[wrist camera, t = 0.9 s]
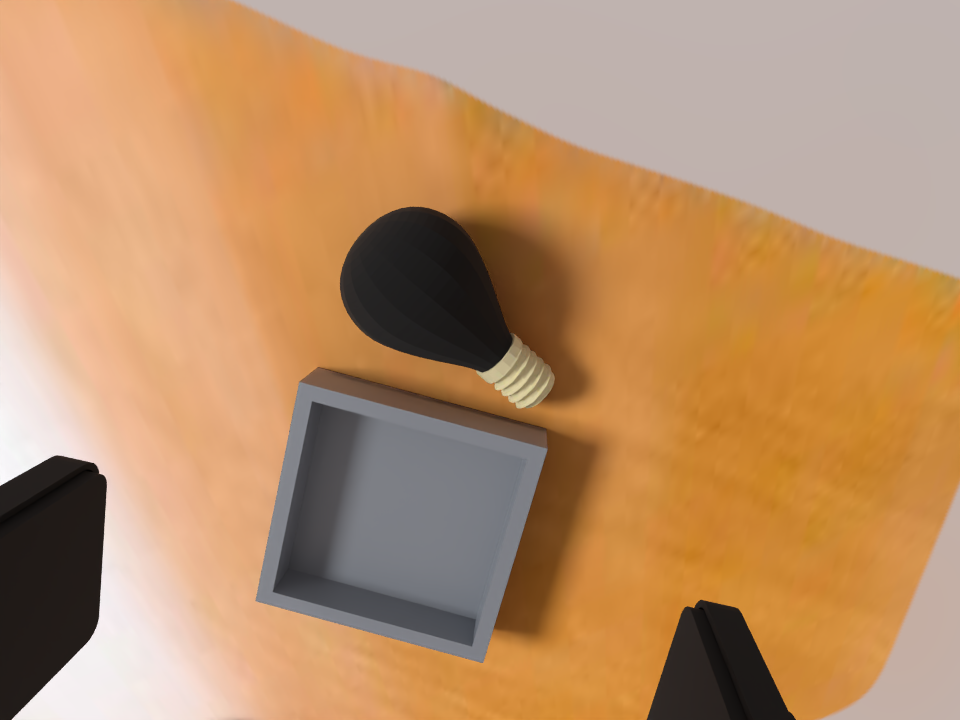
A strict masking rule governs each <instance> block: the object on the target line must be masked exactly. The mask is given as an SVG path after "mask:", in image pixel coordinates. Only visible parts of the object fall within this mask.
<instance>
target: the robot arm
mask: <svg viewBox="0 0 960 720" xmlns="http://www.w3.org/2000/svg"><path fill="white" fill-rule="evenodd" d="M106 490H107V481H106V478H105V476H104V475H102V474H99V470H98V467H97V466H96V465H95V464H94V463H91V462H86V461H82V460H77V459H73V458H68V457H64V456H54V457H51V458H49V459H47V460H46V461H44V462H42V463H40V464H39V465H37V466H35V467H33V468H31V469H30V470H28V471H26V472H24V473H22V474H21V475H19V476H17V477H15V478H14V479H12V480H10V481H8V482H6V483H5V484H3V485H1V486H0V720H12V718H13V717H14V716H15V715H16V714H17V713H18V712H19V711H20V710H21V709H22V708H23V707H24V706H25V705H26V704H27V703H28V702H29V701H30V700H31V699H32V698H33V697H34V696H35V695H36V694H37V693H38V692H39V691H40V690H41V689H42V688H43V687H44V686H45V685H46V684H47V683H48V682H49V681H50V680H51V679H52V678H53V677H54V676H55V675H56V674H57V673H58V672H59V671H60V670H61V669H62V668H63V667H64V666H65V665H66V664H67V663H68V662H69V661H70V660H71V659H72V657H73V656H74V655H75V654H76V653H77V652H78V651H79V650H80V649H81V648H82V647H83V646H84V645H85V644H86V643H87V642H88V641H89V640H90V638H91V636H92V635H93V633H94V631H95V629H96V626H97V623H98V619H99V607H100V590H101V573H102V557H103V540H104V523H105V507H106ZM647 720H796V719H795V718H794V716H793V715H792V713H790V712H788V710H787V707H786V705H785V703H784V701H783V699H782V697H781V695H780V693H779V691H778V689H777V687H776V685H775V682H774V680H773V678H772V676H771V674H770V672H769V670H768V668H767V666H766V664H765V662H764V659H763V657H762V655H761V653H760V651H759V649H758V647H757V645H756V643H755V641H754V639H753V636H752V634H751V632H750V630H749V628H748V626H747V624H746V622H745V620H744V618H743V616H742V613H741V612H740V610H739V609H738V608H735V607H731V606H726V605H722V604H717V603H713V602H708V601H704V600H700V601H698V603H697V604H696V605H695V608H692V607H685V608H684V610H683V611H682V614H681V617H680V620H679V623H678V626H677V629H676V632H675V635H674V638H673V641H672V644H671V647H670V650H669V653H668V656H667V660H666V663H665V666H664V669H663V672H662V675H661V678H660V681H659V684H658V687H657V690H656V693H655V696H654V699H653V703H652V706H651V709H650V712H649V715H648V718H647Z"/></svg>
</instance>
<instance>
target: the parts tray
mask: <svg viewBox="0 0 960 720" xmlns="http://www.w3.org/2000/svg"><path fill="white" fill-rule="evenodd" d="M547 449H548V446H547V433H546V429H545V428H542V427H538V426H534V425H530V424H527V423H523V422H519V421H516V420H512V419H508V418H504V417H501V416H497V415H493V414H490V413H486V412H482V411H478V410H475V409H471V408H467V407H464V406H460V405H456V404H452V403H449V402H445V401H441V400H438V399H434V398H430V397H426V396H423V395H419V394H415V393H412V392H408V391H404V390H400V389H397V388H393V387H389V386H386V385H382V384H378V383H374V382H371V381H367V380H363V379H360V378H356V377H352V376H348V375H345V374H341V373H337V372H334V371H330V370H326V369H322V368H319V367H318V368H316V369H315V370H314V371H313V372H311V373H310V374H309V375H307V376H306V377H305V378H304V379H302V380H301V381H300V382H299V386H298V391H297V396H296V401H295V406H294V411H293V416H292V421H291V426H290V431H289V436H288V441H287V446H286V451H285V456H284V461H283V466H282V471H281V476H280V481H279V486H278V491H277V496H276V501H275V506H274V511H273V516H272V521H271V526H270V531H269V536H268V541H267V546H266V551H265V556H264V561H263V566H262V571H261V576H260V581H259V586H258V592H257V597H256V601H257V602H261V603H264V604H268V605H272V606H275V607H279V608H283V609H286V610H290V611H294V612H297V613H301V614H305V615H308V616H312V617H316V618H319V619H323V620H327V621H330V622H334V623H338V624H341V625H345V626H349V627H352V628H356V629H360V630H363V631H367V632H371V633H374V634H378V635H382V636H385V637H389V638H393V639H396V640H400V641H404V642H407V643H411V644H415V645H418V646H422V647H426V648H429V649H433V650H437V651H440V652H444V653H448V654H451V655H455V656H459V657H462V658H466V659H470V660H473V661H477V662H481V663H483V662H484V658H485V655H486V652H487V648H488V645H489V642H490V638H491V635H492V632H493V629H494V625H495V622H496V619H497V615H498V612H499V609H500V605H501V602H502V599H503V595H504V592H505V589H506V585H507V582H508V579H509V575H510V572H511V569H512V566H513V562H514V559H515V556H516V552H517V549H518V546H519V542H520V539H521V536H522V532H523V529H524V526H525V522H526V519H527V516H528V512H529V509H530V506H531V503H532V499H533V496H534V493H535V489H536V486H537V483H538V479H539V476H540V473H541V469H542V466H543V463H544V459H545V456H546V453H547Z"/></svg>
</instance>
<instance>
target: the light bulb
mask: <svg viewBox="0 0 960 720" xmlns="http://www.w3.org/2000/svg"><path fill="white" fill-rule="evenodd" d="M340 290H341V297H342V300H343V303H344V306H345V308H346V310H347V313H348V314H349V316H350V317H351V319H352V320H353V322H354V323H355V324H356V325H357V326H358V328H359V329H360V330H361V331H362V332H364V333H365V334H366V335H367V336H369V337H370V338H372V339H373V340H374V341H376V342H378V343H380V344H382V345H384V346H387V347H390V348H392V349H395V350H398V351H401V352H404V353H407V354H410V355H414V356H418V357H422V358H426V359H431V360H435V361H440V362H445V363H450V364H455V365H460V366H464V367H468V368H472V369H475V370H476V371H477V374H478V375H479V376H480V377H482V378H483V379H484V380H485V381H486V382H487V383H490V384H492V383H494V382H495V389H496V390H501V389H502V390H501V392H502V395H503V396H508V395H509V396H508V399H509V401H510V402H512V403H514V402H516V403H515V404H516V407H517V408H523V407H525V408H531V407H534V406H535V405H537V404H539V403H540V402H541V401H542V400H543V399H544V398H545V397H546V396H547V395H548V393H549V392H550V391H551V389H552V387H553V385H554V380H555V377H554V374H553V373H552V372H551V368H550V366H549V364H545V363H544V361H543V359H542V358H540V357H537V355H536V353H535V352H534V351H531V350H530V348H529V346H528V345H524V344H523V343H522V341H521V339H520V338H518V337H517V336H516V335H515V334H514V333H510V332H509V330H508V328H507V326H506V324H505V321H504V318H503V315H502V312H501V309H500V306H499V303H498V300H497V297H496V294H495V291H494V288H493V285H492V283H491V280H490V277H489V275H488V272H487V270H486V267H485V265H484V263H483V260H482V258H481V256H480V254H479V252H478V250H477V248H476V246H475V244H474V243H473V241H472V239H471V238H470V236H469V235H468V234H467V233H466V231H465V230H464V229H463V228H462V227H461V226H460V225H459V224H458V223H457V222H455V221H454V220H453V219H451V218H450V217H448V216H446V215H445V214H443V213H440V212H438V211H436V210H432V209H429V208H424V207H407V208H401V209H398V210H395V211H392V212H390V213H388V214H386V215H384V216H382V217H380V218H379V219H377V220H376V221H375V222H374V223H372V224H371V225H370V226H369V227H368V228H367V229H366V230H365V231H364V232H363V233H362V234H361V235H360V236H359V237H358V239H357V240H356V241H355V243H354V244H353V246H352V247H351V249H350V251H349V252H348V254H347V257H346V259H345V262H344V264H343V267H342V272H341V277H340Z"/></svg>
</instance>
